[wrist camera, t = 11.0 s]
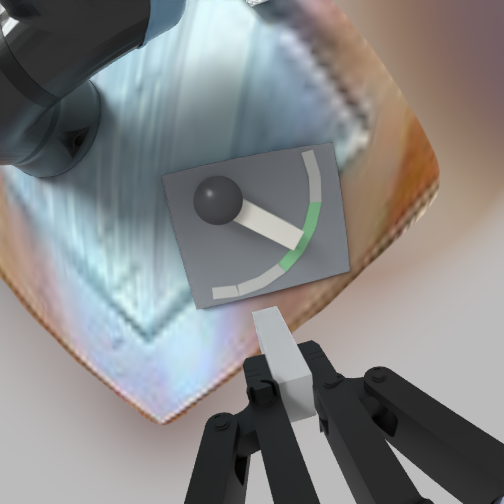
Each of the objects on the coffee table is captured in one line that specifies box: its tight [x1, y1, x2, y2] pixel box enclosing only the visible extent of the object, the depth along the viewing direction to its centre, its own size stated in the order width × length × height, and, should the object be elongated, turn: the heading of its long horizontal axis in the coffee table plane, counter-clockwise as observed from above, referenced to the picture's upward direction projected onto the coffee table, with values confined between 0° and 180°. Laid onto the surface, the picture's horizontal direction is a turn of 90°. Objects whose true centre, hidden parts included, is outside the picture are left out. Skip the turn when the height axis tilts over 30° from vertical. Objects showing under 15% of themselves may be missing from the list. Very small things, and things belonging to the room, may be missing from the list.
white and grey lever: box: [193, 175, 304, 251], centre depth 33 cm, size 14×5×6 cm, turn 62°
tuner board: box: [161, 143, 350, 310], centre depth 38 cm, size 22×18×2 cm
